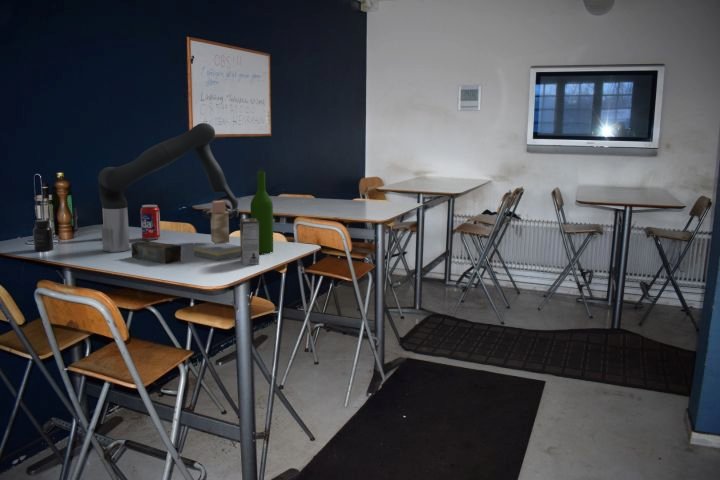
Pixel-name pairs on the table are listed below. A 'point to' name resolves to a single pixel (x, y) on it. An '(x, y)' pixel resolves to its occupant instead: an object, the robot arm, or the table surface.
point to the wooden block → (219, 227)
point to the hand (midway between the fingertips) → (219, 216)
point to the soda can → (150, 222)
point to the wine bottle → (263, 215)
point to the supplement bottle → (43, 236)
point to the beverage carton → (156, 252)
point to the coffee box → (249, 240)
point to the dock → (218, 251)
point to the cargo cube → (218, 206)
